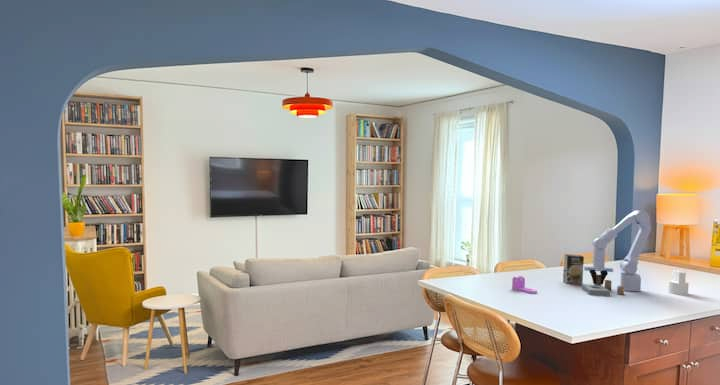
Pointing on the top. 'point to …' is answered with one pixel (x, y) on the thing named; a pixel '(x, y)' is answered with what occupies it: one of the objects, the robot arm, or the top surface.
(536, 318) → the top surface
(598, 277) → the tall dowel
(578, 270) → the coffee box
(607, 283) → the mid dowel
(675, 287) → the base with upright slab
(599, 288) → the hole board
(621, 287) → the short dowel
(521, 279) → the bracket
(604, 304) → the top surface
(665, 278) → the top surface
